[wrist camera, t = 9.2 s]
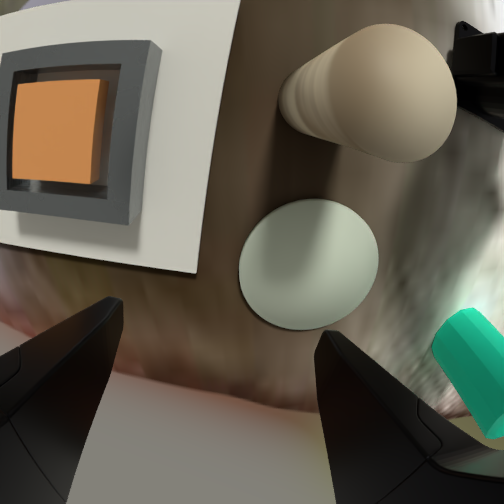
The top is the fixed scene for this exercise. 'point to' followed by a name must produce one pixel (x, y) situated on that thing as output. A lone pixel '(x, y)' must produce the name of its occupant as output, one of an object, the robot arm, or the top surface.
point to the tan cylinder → (375, 95)
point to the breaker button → (59, 130)
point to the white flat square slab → (121, 125)
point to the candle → (474, 366)
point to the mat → (308, 264)
